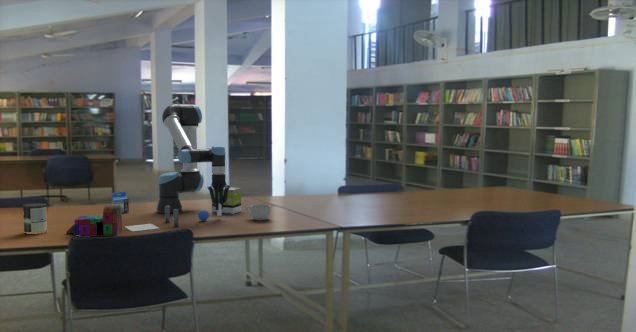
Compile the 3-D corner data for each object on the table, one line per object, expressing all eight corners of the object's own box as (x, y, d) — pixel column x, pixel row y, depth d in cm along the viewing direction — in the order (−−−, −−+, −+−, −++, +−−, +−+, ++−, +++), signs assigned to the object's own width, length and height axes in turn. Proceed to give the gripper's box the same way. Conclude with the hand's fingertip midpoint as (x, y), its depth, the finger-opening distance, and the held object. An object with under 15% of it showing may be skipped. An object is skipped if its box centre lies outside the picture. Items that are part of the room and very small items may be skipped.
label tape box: (114, 214, 324) (113, 193, 323) (111, 213, 327) (111, 192, 326) (129, 212, 330) (128, 192, 329) (126, 211, 333) (125, 191, 332)
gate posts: (164, 222, 300) (164, 205, 299) (169, 221, 302) (168, 205, 301) (174, 227, 287) (174, 209, 286) (179, 226, 289) (179, 209, 288)
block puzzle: (124, 228, 284) (123, 201, 283) (117, 235, 267) (116, 206, 266) (73, 230, 280) (72, 202, 279) (62, 237, 264) (61, 207, 263)
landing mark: (124, 226, 287) (124, 226, 287) (150, 224, 295) (150, 223, 295) (132, 231, 276) (132, 231, 276) (159, 228, 284) (159, 228, 284)
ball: (196, 220, 305) (196, 209, 305) (206, 219, 309) (206, 208, 308) (200, 222, 300) (200, 211, 300) (210, 221, 304) (210, 210, 303)
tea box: (211, 212, 331) (211, 188, 330) (220, 209, 341) (220, 186, 339) (233, 214, 326) (232, 189, 324) (241, 211, 335) (241, 187, 334)
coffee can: (20, 235, 267) (18, 206, 266) (29, 230, 277) (28, 202, 276) (42, 234, 268) (41, 206, 267) (50, 230, 278) (49, 202, 277)
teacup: (273, 218, 312) (273, 204, 311) (265, 222, 302) (265, 207, 301) (251, 217, 317) (250, 203, 316) (242, 220, 306) (242, 206, 306)
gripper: (210, 174, 301) (211, 217, 303) (232, 173, 308) (232, 215, 310) (204, 173, 307) (205, 215, 309) (226, 172, 314) (226, 213, 317)
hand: (219, 215), depth 310 cm, fingers closed
